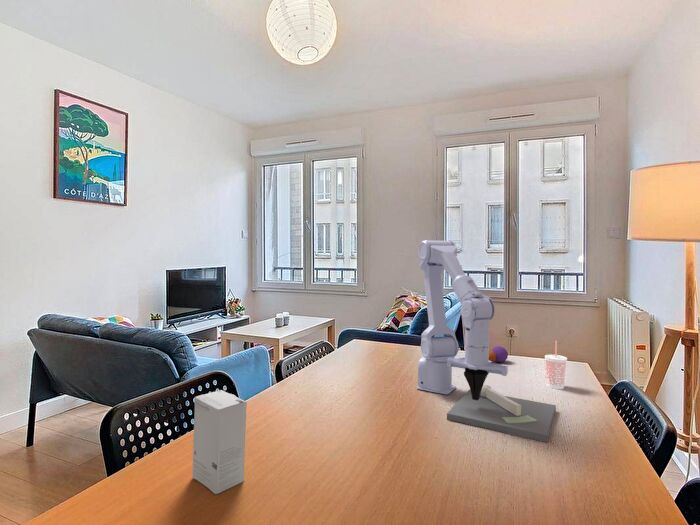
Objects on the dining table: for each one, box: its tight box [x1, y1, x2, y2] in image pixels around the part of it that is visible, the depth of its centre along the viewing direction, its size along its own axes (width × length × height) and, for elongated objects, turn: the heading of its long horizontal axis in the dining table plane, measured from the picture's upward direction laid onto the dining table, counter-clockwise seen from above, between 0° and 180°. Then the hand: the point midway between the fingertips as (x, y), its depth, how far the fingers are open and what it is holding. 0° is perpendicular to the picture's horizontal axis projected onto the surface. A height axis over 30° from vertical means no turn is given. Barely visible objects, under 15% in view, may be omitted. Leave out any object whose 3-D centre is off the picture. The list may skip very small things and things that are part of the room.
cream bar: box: [480, 384, 521, 416], centre depth 105 cm, size 16×3×2 cm, turn 15°
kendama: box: [458, 345, 509, 364], centre depth 148 cm, size 6×6×20 cm
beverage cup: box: [544, 340, 568, 390], centre depth 123 cm, size 6×6×14 cm
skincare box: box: [191, 389, 248, 495], centre depth 73 cm, size 8×6×15 cm
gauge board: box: [446, 389, 557, 443], centre depth 102 cm, size 22×20×2 cm
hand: (476, 398), depth 103 cm, fingers closed
